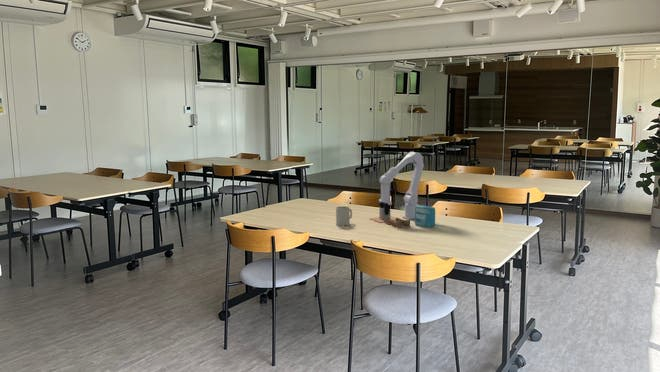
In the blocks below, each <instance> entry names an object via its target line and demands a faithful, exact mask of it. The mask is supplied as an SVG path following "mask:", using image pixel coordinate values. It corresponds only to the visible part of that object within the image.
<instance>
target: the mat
mask: <svg viewBox="0 0 660 372" xmlns="http://www.w3.org/2000/svg"><path fill="white" fill-rule="evenodd" d="M396 218H397V217H394V216H392V215H390V219H388V220H390V221H393V222H396ZM369 219H370V221H371V220H372V221H374V222H376V223H379V224H382V223H384V220H382V219H379V216H378V217H370V218H369Z"/></svg>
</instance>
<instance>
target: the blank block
mask: <svg viewBox="0 0 660 372" xmlns="http://www.w3.org/2000/svg"><path fill="white" fill-rule="evenodd" d="M378 210H379V216H378V217H379V219H382V220H384V219H390V216H391V210H390V211H389V214H388V215H385V209H384V208H380V207H379V209H378Z"/></svg>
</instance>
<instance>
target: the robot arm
mask: <svg viewBox="0 0 660 372" xmlns="http://www.w3.org/2000/svg"><path fill="white" fill-rule="evenodd" d="M423 159H424V156H423V155H422V154H421V153H420V152H415V151H409V152H408V153H407V154H406V155H405V156H404V157H403V159H401V161H400V162H398V164H397V165H396V166H395V167H394V166H392V167H390V168H389V170H388V171H386V172H385V173H384V174H383V175H381V176H380V177H379V181H378V182H379V183H380V198H378V205H379V208H384V209H385V215H388V214H389V211H390V212H391V207H392V205H393V201H391V199H390V193H391V192H390V189H391V188H390V187H391V186H390V184H391V183H392V180H394V179H395V178H396V177H397V176H398V175H399V173H400V171H401V170H402V169H403V168H404V167H405V166H406V165H408V164H411V163H412V165H413V166H414V171H413V173H412V176H411V180H410V184H409V188H408V190H407V191H406V193H405V195H404V196H403V202H404V216H402V218H403V217H404V219H406V218H407V219H406V220H415V207H417V206H420V205H419V204H418V201H419V200H418V199H419V198H418V196H419V194H418V188H419V185H420V182H421V178H422V174H423V171H424V167H425V165H424V160H423Z"/></svg>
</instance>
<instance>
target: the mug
mask: <svg viewBox="0 0 660 372" xmlns="http://www.w3.org/2000/svg"><path fill="white" fill-rule="evenodd" d="M335 215H336V216H335V219H336V221H335V223H336V226H338V225H341V226H340V227H343V226H342V225H347V226H349V225H350V221H351V219H352V217H353V210H352V209H351V208H350V207H349V206H347V205H346V206H342V205H341V206H337V207H336V209H335Z"/></svg>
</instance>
